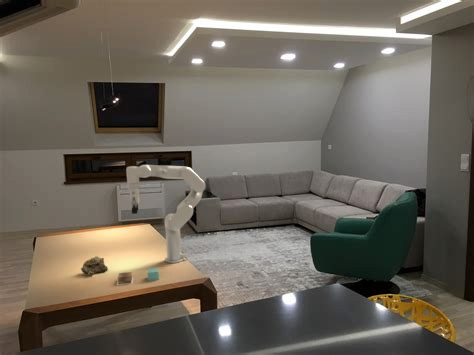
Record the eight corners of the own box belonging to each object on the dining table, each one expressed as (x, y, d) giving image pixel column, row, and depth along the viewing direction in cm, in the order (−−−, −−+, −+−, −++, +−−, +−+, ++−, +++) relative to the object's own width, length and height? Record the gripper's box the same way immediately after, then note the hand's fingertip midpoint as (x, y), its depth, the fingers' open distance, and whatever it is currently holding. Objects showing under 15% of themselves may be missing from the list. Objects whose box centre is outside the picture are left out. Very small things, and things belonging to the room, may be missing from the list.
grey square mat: (139, 277, 236) (139, 275, 236) (139, 286, 223) (139, 284, 223) (112, 280, 233) (111, 278, 233) (109, 289, 220) (109, 287, 219)
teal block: (158, 277, 235) (158, 268, 234) (158, 281, 229) (158, 271, 228) (148, 279, 234) (147, 269, 233) (148, 282, 228) (147, 272, 227)
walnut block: (131, 278, 232) (131, 271, 231) (131, 282, 225) (130, 276, 225) (119, 279, 231) (118, 273, 230) (118, 284, 224) (117, 277, 223)
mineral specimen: (85, 279, 237) (84, 263, 236) (79, 273, 247) (78, 258, 246) (109, 273, 245) (108, 258, 244) (102, 268, 256) (101, 253, 254)
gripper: (138, 187, 245) (140, 214, 247) (140, 183, 262) (141, 209, 264) (126, 187, 244) (128, 215, 246) (128, 184, 261) (130, 209, 263)
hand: (135, 212), depth 255 cm, fingers open, 9 cm apart
